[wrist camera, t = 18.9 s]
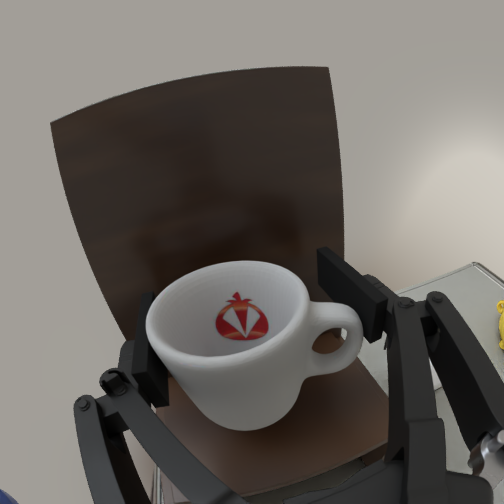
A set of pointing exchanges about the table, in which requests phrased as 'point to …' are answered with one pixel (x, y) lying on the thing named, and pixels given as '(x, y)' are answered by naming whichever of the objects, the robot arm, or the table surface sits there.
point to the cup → (246, 340)
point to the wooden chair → (224, 241)
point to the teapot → (501, 322)
